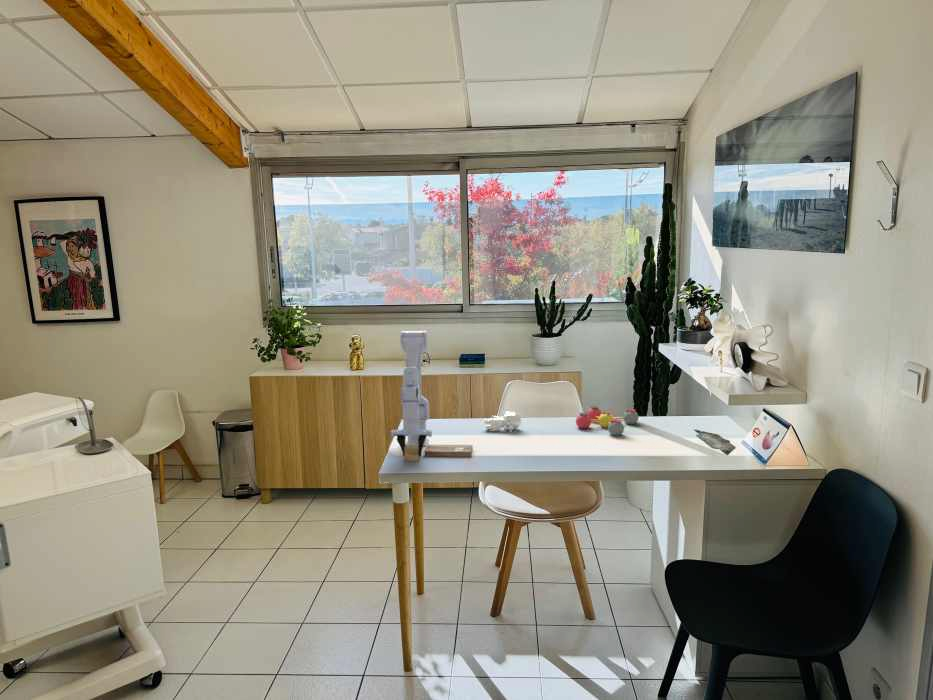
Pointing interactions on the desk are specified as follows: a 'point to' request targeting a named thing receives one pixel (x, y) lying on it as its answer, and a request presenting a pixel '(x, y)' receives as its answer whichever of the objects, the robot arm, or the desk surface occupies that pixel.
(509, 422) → the figurine
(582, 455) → the desk surface
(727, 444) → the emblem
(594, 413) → the molecule model
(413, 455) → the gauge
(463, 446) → the board
